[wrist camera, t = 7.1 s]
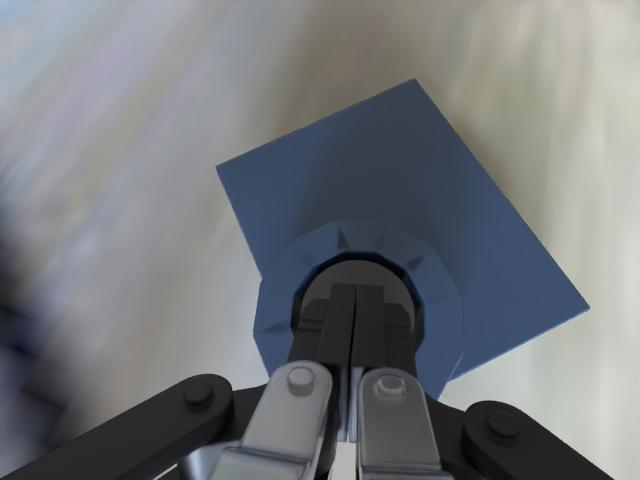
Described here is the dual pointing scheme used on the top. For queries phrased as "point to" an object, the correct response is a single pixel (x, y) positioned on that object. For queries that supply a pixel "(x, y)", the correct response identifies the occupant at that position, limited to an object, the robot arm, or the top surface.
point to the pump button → (361, 283)
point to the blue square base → (396, 233)
